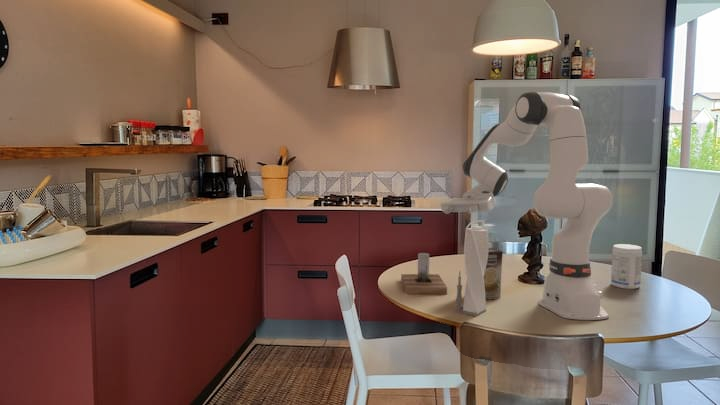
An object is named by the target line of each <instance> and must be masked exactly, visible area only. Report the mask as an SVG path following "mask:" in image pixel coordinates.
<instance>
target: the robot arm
mask: <svg viewBox="0 0 720 405" xmlns="http://www.w3.org/2000/svg"><path fill="white" fill-rule="evenodd" d="M538 126H544V127H547V129H548V134H549V136H548V137H549V139H548V140H549V141H548V142H549V154H550V156H549V157H550V161H549V162H550V163H549V171H548V174H547V177H546V179H545V181H544V182H543V184H541V186H539V187H538V188H537V189H536V191H534V195H533V199H532V204H533V208H534V210H535V212H536V213H537V214H538V216H540V217H544V218H549V219H553V220H554V219H555V220H556V219H557V220H558V219H559V220H560V219H561V220H562V219H567V220H566V222H565V223H564V225H563V227H562V228H560V229H559V230H557V231H556V232H555V233H554V234H553V236H552V240H551V258H550V259H549V263H548V264H549V266H548V268H549V274H547V276H546V277H545V278H544V283H543V290H542V291H543V292H542V298H541V299H539V300H538V302H537V304H538V305H540V306H542V307H544V308H545V309H547V310H549V311H551V312H552V313H553V314H556V315H557V316H559V317H561V318H563V319H570V320H580V321H584V320H585V321H593V320H595V321H596V320H598V321H599V320H605V319H608V318H609V314H608V312H607V311H606V310H605V309H604V308H603V306H601V300H602V299H603V291H599V290H598V289H597V285H596V284H595V283H594V281H593V279H592V277H591V276H592V271H591V270H592V267H591V263H590V261H589V260H590V247H591V240H592V236H593V233H594V231H595V229H596V227H597V225H598V224H599V222H600V220H602V218H603V217H604V216H606V214H608V213H609V212H610V211H611V209H612V207H613V204H614V203H613V201H614V200H613V194H612V192H611V190H610V189H609V188H608V187H607V186H605V185H601V184H597V183H594V182H593V183H592V182H589V183H588V182H587V183H586V182H583V183H582V182H581V183H576V180H577V176H578V172H580V171H581V170H582V169H584V168H586V166H587V165H588V162H589V151H588V148H589V147H588V137H587V131H586V130H587V129H586V124H585V120H584V117H583V114H582V111H581V103H580V101H579V99H578V98H577V97H575V96H573V95H571V94H566V93H564V94H563V93H556V92H552V91H551V92H550V91H528V92H524V93H522V94H521V95H520V96H519V97H518V99H517V101H516V103H514V105H513V107H512V109H511V110H510V111H509V113H508V115H507V117H506V119H505V120H504V121H503V122H502V123H497V124H494V125H493V126H492V127H491V128H490V129H489V130H488V131H487V132H486V133H485V134H484V136H483V138H481V140H480V141H479V142H478V144H477V145H476V147H475V148H474V149H473V151H472V152H470V154H469V155H468V156H467V157H466V158H465V160H464V161H463V163H462V172H463V174H464V175H465V176H467V177H469V178H470V179H472V180H474V181H475V182H477V183H478V184H476V185H475V186H473V187H472V188H470V189H469V190H467V191H466V192H464V193H462V194H463V195H462V196H461V197H460V198H459V197H456V198H455V197H454V198H449V199H447V200H444V201H442V202H441V203H440V208H441V209H440V210H441V211H442V213H444V214H445V215H447V214H450V213H451V212H452V213H464V212H465V213H466V214H473V213H477V212H479V213H480V212H484V213H486V212H490V211H491V210H493V209H495V208H496V201H495V199H496V197H497V196H499V195H500V194H502V192H503V191H504V190H505V189H506V187H507V184H508V182H509V176H508V172H507V171H506V170H505V169H503V168H501V167H500V166H499V165H498V164H495V163H494V162H492V161H491V160H490V159H488V158H487V157H486V156H485V154H486V153H487V152H488V150H489V149H490V148H491V147H492V145H493V144H500V145H504V146H508V147H519V146H523V145H525V144H527V143H528V142H529V141H530V139H531V138H532V137H533V136H534V133H535V132H536V130H537V128H538Z"/></svg>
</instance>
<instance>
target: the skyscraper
mask: <svg viewBox="0 0 720 405" xmlns="http://www.w3.org/2000/svg"><path fill="white" fill-rule="evenodd" d="M478 222H479V223H482V225H481V226H480V225H473V224H475V223H478ZM485 222H486V221H485V220H483V219H477V220H472V221H471V222H469V223H468V224H467V226H466V227H465V234H464V236H465V237H464V244H463V245H464V246H463V248H464V249H463V260H464V261H463V262H464V269H465V275H466V281H465V289H464V296H463V297H462V295H463V294H462V289H463V285H462V281H461V280H462V276H461V272H462V271H460V270H459V272H458V273H459V274H458V283H457V284H456V290H457V292H456V299H455V301H456V305H455V306H456V307H455V309H454V313H459V314H463V315H467V316H472V317H477V316H479V315H481V314H483V313H486V311H487V299H486V300H485V287H484V278H483V277H484V273H485V269H486V265H487V260H488V249H489V247H490V246H489V240H490V239H489V228H487V227H484V226H485ZM471 225H472V226H471ZM470 226H471V227H470ZM462 298H463V299H462ZM462 303H463V304H462ZM462 305H463V306H462Z"/></svg>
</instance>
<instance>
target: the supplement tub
mask: <svg viewBox="0 0 720 405" xmlns="http://www.w3.org/2000/svg"><path fill="white" fill-rule="evenodd" d="M611 253H612V256H611V275H610V278H611V279H610V280H611V281H610V282H611V285H612V286H614V287H616V288H619V289H626V290H627V289H629V290H634V289H638V288H640V286H641V283H642V282H641V279H642V258H643V257H642V256H643V250H642V247H641V246H639V245H636V244H629V243H627V244H626V243H619V244H618V243H617V244H613V246H612V252H611Z"/></svg>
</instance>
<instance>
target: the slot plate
mask: <svg viewBox="0 0 720 405" xmlns="http://www.w3.org/2000/svg"><path fill="white" fill-rule="evenodd" d="M400 279H401V283H402V286H403V289H404V292H405V294H406V295H448V287H447V284H446V283H445V282H444V280H443V279H442V277H441V276H440V274H439V273H429V283H418V273H413V274H412V273H409V274H408V273H401V278H400Z"/></svg>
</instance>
